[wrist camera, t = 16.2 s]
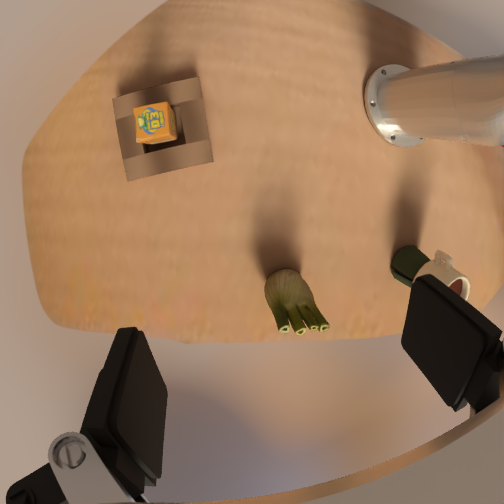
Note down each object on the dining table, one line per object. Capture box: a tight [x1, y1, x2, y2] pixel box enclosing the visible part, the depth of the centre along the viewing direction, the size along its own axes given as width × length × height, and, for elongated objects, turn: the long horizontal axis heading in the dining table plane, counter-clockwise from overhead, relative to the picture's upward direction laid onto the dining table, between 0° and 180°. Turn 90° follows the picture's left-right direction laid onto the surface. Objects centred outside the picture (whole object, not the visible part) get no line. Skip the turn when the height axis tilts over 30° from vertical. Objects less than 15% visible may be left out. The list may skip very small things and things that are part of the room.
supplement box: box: [133, 102, 178, 145], centre depth 26 cm, size 3×3×10 cm
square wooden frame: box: [112, 77, 214, 182], centre depth 31 cm, size 10×10×4 cm
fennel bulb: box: [264, 269, 329, 335], centre depth 36 cm, size 6×5×12 cm
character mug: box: [392, 246, 470, 301], centre depth 38 cm, size 11×7×13 cm, turn 11°
